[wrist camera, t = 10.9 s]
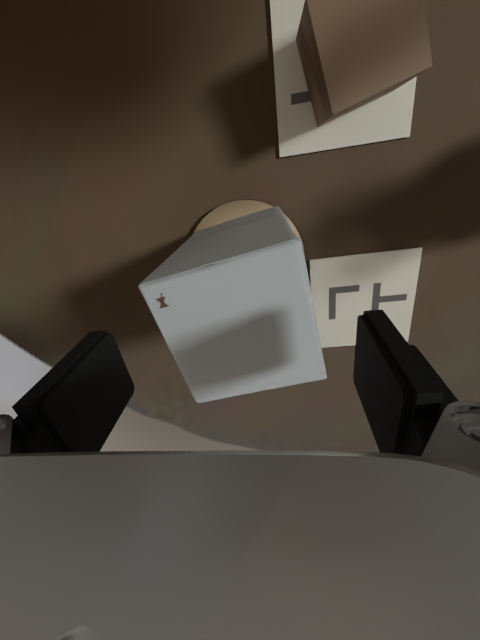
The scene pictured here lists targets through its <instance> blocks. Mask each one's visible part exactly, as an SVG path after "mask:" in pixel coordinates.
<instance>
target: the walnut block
mask: <svg viewBox="0 0 480 640" xmlns="http://www.w3.org/2000/svg"><path fill="white" fill-rule="evenodd" d="M296 44H297V48H298V52H299V56H300V60H301V64H302V68H303V72H304V76H305V80H306V84H307V88H308V92H309V96H310V100H311V104H312V108H313V112H314V116H315V120H316V124H317V128H318V127H320V126H322V125H324V124H326V123H328V122H330V121H332V120H334V119H336V118H339V117H341V116H343V115H345V114H347V113H349V112H351V111H353V110H355V109H357V108H359V107H361V106H363V105H365V104H368V103H370V102H372V101H374V100H376V99H378V98H380V97H382V96H384V95H386V94H388V93H390V92H392V91H394V90H395V89H397V88H399V87H400V86H402V85H403V84H405V83H407V82H408V81H410V80H411V79H413V78H414V77H416V76H418V75H419V74H421V73H422V72H424V71H426V70H427V69H429V68H430V67H432V58H431V48H430V37H429V27H428V16H427V6H426V0H305V3H304V7H303V11H302V15H301V20H300V24H299V28H298V32H297V36H296Z"/></svg>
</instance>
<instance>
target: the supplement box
mask: <svg viewBox="0 0 480 640" xmlns="http://www.w3.org/2000/svg"><path fill="white" fill-rule="evenodd" d="M138 288H139V290H140V292H141V294H142V295H143V297H144V299H145V301H146V303H147V305H148V307H149V309H150V311H151V313H152V315H153V317H154V319H155V321H156V323H157V325H158V327H159V329H160V331H161V333H162V335H163V337H164V339H165V341H166V343H167V345H168V347H169V349H170V351H171V353H172V355H173V357H174V359H175V361H176V363H177V365H178V367H179V369H180V371H181V373H182V375H183V377H184V379H185V381H186V383H187V385H188V387H189V389H190V391H191V393H192V395H193V397H194V399H195V400H196V402H197V403H202V402H207V401H212V400H217V399H222V398H227V397H232V396H237V395H243V394H248V393H253V392H259V391H264V390H269V389H274V388H279V387H285V386H290V385H295V384H301V383H306V382H311V381H317V380H323V379H326V378H327V375H326V370H325V365H324V359H323V354H322V349H321V343H320V338H319V332H318V327H317V321H316V316H315V310H314V305H313V299H312V294H311V288H310V283H309V277H308V272H307V266H306V261H305V256H304V251H303V245H302V241H301V240H300V239H299V238H298V237H297V235H296V234H295V232H294V231H293V229H292V227H291V226H290V224H289V222H288V220H287V219H286V217H285V215H284V213H283V212H282V211H281V209H280V208H279V206H275V207H272V208H268V209H265V210H261V211H258V212H255V213H252V214H249V215H245V216H242V217H239V218H236V219H233V220H230V221H227V222H224V223H221V224H218V225H215V226H212V227H209V228H206V229H203V230H200V231H196V232H195V233H194V234H193V235H192V236H191V237H190V238H189V239H188V240H187V241H186V242H185V243H184V244H182V245H181V246H180V247H179V248H178V249H177V250H176V251H175V252H174V253H173V254H172V255H171V256H169V257H168V258H167V259H166V260H165V261H164V262H163V263H162V264H161V265H160V266H159V267H157V268H156V269H155V270H154V271H153V272H152V273H151V274H150V275H149V276H148V277H146V278H145V279H144V280H143V281H142V282H141V283H140V284H139V285H138Z"/></svg>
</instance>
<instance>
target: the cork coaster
mask: <svg viewBox="0 0 480 640" xmlns="http://www.w3.org/2000/svg"><path fill="white" fill-rule="evenodd" d="M272 207H273V206H271V205H269V204H266V203H264V202H260V201H256V200H237V201H232V202H228V203H226V204H223V205H221V206H219V207H217V208H215V209H214V210H213V211H211V212H210V213H209V214H207V215H206V216H205V217H204V218H203V219H202V221H201V222H200V223H199V225H198V226H197V228H196V229H195V231H194V233H195V232H196V231H200V230H203V229H206V228H209V227H212V226H215V225H218V224H221V223H224V222H227V221H230V220H233V219H236V218H239V217H242V216H245V215H249V214H252V213H255V212H258V211H261V210H265V209H268V208H272ZM284 215H285V214H284ZM285 217H286V219H287V220H288V222H289V224H290V226H291V227H292V229H293V231H294V232H295V234H296V235H297V237H298V238H299V239H300V240H301V238H300V235H299V233H298V231H297V229H296V228H295V226H294V224H293V223H292V222H291V221H290V219H289V218H288V217H287V216H286V215H285ZM194 233H193V234H194ZM301 241H302V240H301ZM302 245H303V244H302ZM303 251H304V248H303Z"/></svg>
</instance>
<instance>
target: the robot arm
mask: <svg viewBox="0 0 480 640" xmlns="http://www.w3.org/2000/svg"><path fill="white" fill-rule="evenodd" d="M353 377H354V384H355V387H356V389H357V392H358V395H359V397H360V400H361V403H362V405H363V408H364V411H365V413H366V416H367V419H368V421H369V424H370V427H371V429H372V432H373V435H374V437H375V440H376V443H377V445H378V448H379V451H380V453H378V452H358V451H122V452H121V451H117V452H116V451H112V452H99V451H100V450H101V448H102V446H103V444H104V443H105V441H106V439H107V438H108V436H109V434H110V432H111V431H112V429H113V427H114V426H115V424H116V422H117V420H118V419H119V417H120V415H121V414H122V412H123V410H124V408H125V407H126V405H127V403H128V402H129V400H130V398H131V397H132V395H133V393H134V384H133V382H132V379H131V377H130V375H129V372H128V370H127V368H126V365H125V363H124V360H123V358H122V356H121V353H120V351H119V349H118V346H117V344H116V341H115V339H114V337H113V335H112V334H109V333H108V332H107V331H94V332H90V333H89V334H87V335H86V336H85V337H84V338H83V339H82V340H81V341H80V342H79V343H78V344H77V345H76V346H75V347H74V348H73V349H72V350H71V351H70V352H69V353H68V354H67V355H66V356H65V357H64V358H62V359H61V360H60V361H59V362H58V363H57V364H56V365H55V366H54V367H53V368H52V369H51V370H50V371H49V372H48V373H47V374H46V375H45V376H44V377H43V378H42V379H41V380H40V381H39V382H38V383H36V384H35V385H34V386H33V388H31V389H30V390H29V391H28V392H27V393H26V394H25V395H24V396H23V397H22V398H21V399H20V400H19V401H18V402H17V403H16V404H15V405H14V406H13V407H12V408H13V409H14V411H15V412H16V413H17V415H18V416H17V417H16V418H15V419H13V418H12V417H11V416H9V415H5V414H2V415H0V640H480V403H479V402H474V401H458V400H457V399H456V397H455V396H454V395H453V393H452V392H451V391H450V390H449V388H448V387H447V386H446V384H445V383H444V382H443V381H442V379H441V378H440V377H439V375H438V374H437V373H436V372H435V370H434V369H433V368H432V366H431V365H430V364H429V363H428V361H427V360H426V359H425V357H424V356H423V355H422V354H421V352H420V351H419V350H418V348H417V347H415V346H414V345H409V344H408V343H407V342H406V340H405V339H404V337H403V336H402V335H401V333H400V332H399V331H398V329H397V328H396V327H395V325H394V324H393V323H392V321H391V320H390V319H389V317H388V316H387V315H386V313H385V312H384V311H383V310H369V311H364V313H363V315H359V316H358V318H357V331H356V345H355V360H354V374H353Z"/></svg>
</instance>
